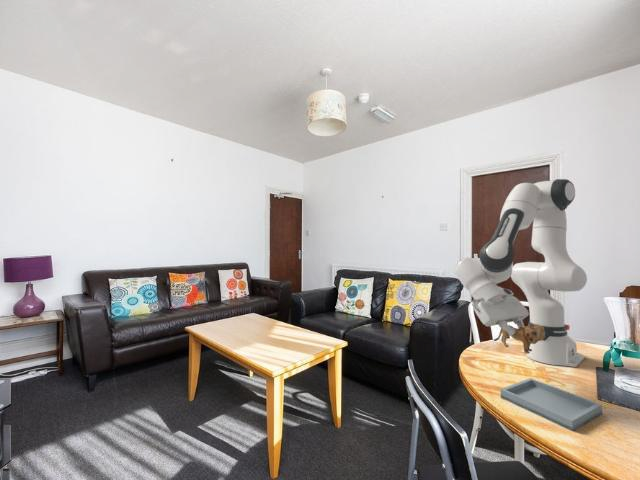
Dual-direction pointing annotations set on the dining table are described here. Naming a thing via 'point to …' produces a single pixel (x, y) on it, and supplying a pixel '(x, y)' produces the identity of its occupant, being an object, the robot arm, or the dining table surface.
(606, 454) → the dining table surface
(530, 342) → the lion figurine
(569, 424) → the grey tray
